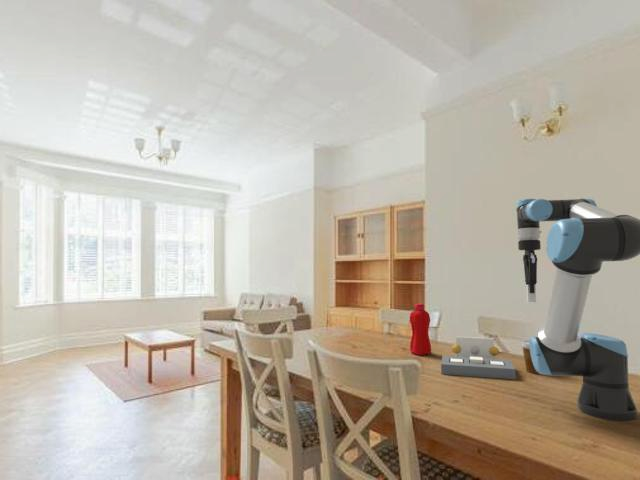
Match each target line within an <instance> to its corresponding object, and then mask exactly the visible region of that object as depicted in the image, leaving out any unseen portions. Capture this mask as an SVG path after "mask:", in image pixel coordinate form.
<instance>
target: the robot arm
mask: <svg viewBox="0 0 640 480" xmlns="http://www.w3.org/2000/svg"><path fill="white" fill-rule="evenodd" d="M516 220H517V221H516V222H517V239H518V242H517V244H518V245H517V246H518V248H517V249H518V250H519V251H524V255H523V256H522V261H523V269H524V270H523V271H524V279H525V280H524V282H525V285H526V302H527V303H537V293H536V292H537V291H536V290H537V289H536V285H537V283H538V279H537V276H538V275H537V273H538V271H537V269H538V266H537V265H538V257H537V254H536V253H535V251H539V250H541V240H540V238H541V233H542V231H541V230H540V229H541V228H540V227H541V226H540V223H541V222H554V223H553V224H552V225H551V226H550V228H549V230H548V232H547V233H548V234H547V238H546V242H545V243H546V247H545V249H546V255H547V257H548V259H549V260H550V261H551V264H552V265H553V266H554V267H555V268H556V269H555V275H554V281H553V286H552V291H551V296H550V301H549V305H548V306H549V307H548V310H547V311H548V312H547V317H546V321H545V326H544V327H541V328H540V330H539V331H538V333H537V334H538V335H537V336H531V337H530V338H529V340H528V341H529V347H530V354H531V358H532V362H533V365H534V367H535V369H536V371H537V372H538V373H540V374H539V375H544V376H545V375H546V376H559V377H563V376H564V377H582V385H581V388H580V391H579V393H578V396H577V404H576V405H577V408H578V410H579V411H581V412H583V413H585V414H587V415H590V416H593V417H595V418H600V419H606V420H613V421H633V420H636V419H637V418H638V408H637V405H636V403H635V401H634V398H633V396H632V393H631V391H630V388H629V362H628V359H629V355H628V349H627V344H626V343H625V341H624V340H621V339H619V338H616V337H613V336H608V335H603V334H598V333H597V334H596V333H591V332H582V333H581V334H580V336H579V335H578V334H579V329H580V327H581V321H582V318H583V313H584V310H585V309H584V308H585V306H586V301H587V298H588V293H589V289H590V285H591V282H592V277H593V275H596V274H598V273H599V272H600V271H601V269H602V264H603V262H624V261H628V260H632V259H634V258H636V257H638V256H640V218H637V217H635V216H631V215H629V214H616V213H614V212H611V211H609V210H606V209H604V208H601V207H599V206H597V203H596V202H595V200H594V199H591V198H574V199H549V200H548V199H544V198H538V199H537V198H523V199H520V200H518V201H517V202H516Z"/></svg>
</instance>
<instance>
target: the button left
mask: <svg viewBox="0 0 640 480" xmlns="http://www.w3.org/2000/svg"><path fill="white" fill-rule="evenodd" d="M450 362H461V363H463V359H451V358H450Z"/></svg>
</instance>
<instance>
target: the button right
mask: <svg viewBox="0 0 640 480" xmlns="http://www.w3.org/2000/svg"><path fill="white" fill-rule="evenodd" d="M490 364H491V365H504V363H503V362H497V361H490Z"/></svg>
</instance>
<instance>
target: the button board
mask: <svg viewBox="0 0 640 480" xmlns="http://www.w3.org/2000/svg"><path fill="white" fill-rule="evenodd" d="M441 357H442V358H441V363H440V364H441V365H440V366H441V369H440V370H441V375H450V376H464V377H465V376H466V377H477V378H478V377H479V378H491V379H503V380H504V379H505V380H514V381H515V380H516V379H517V377H516V373H517V372H516V367H515V366H514V364H513V362H512V360H511V359H507V358H495V357H494V358H483V364H476V363H470V357H462V356H457V355H447V354H446V355H445V354H443V355H442V356H441ZM450 358H451V359H463V363H461V362H450ZM490 361H497V362H503V363H504V365H491V364H490Z"/></svg>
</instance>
